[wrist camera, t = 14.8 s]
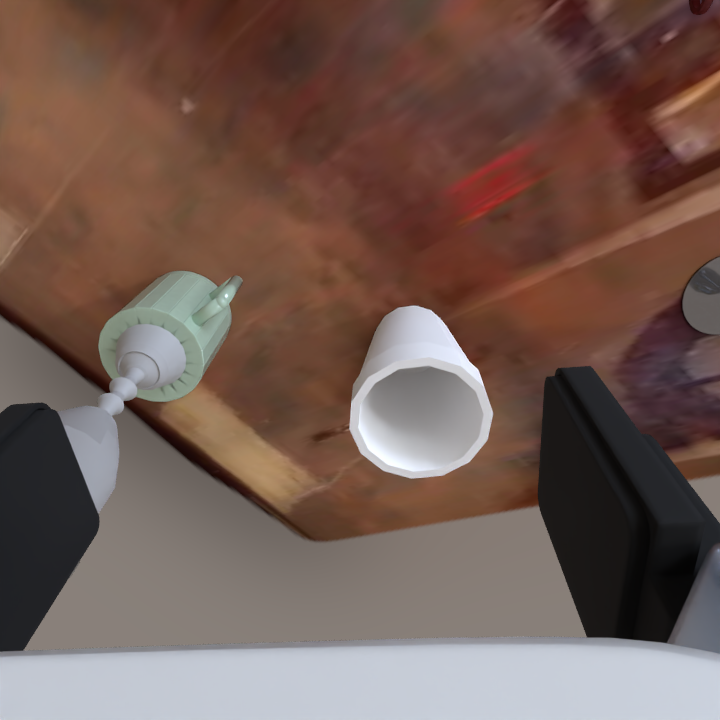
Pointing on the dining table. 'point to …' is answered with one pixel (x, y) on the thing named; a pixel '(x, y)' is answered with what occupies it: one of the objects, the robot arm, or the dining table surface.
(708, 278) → the wine glass
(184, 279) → the mug
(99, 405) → the chalice
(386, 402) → the foam cup
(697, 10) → the cocoa
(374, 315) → the dining table surface
